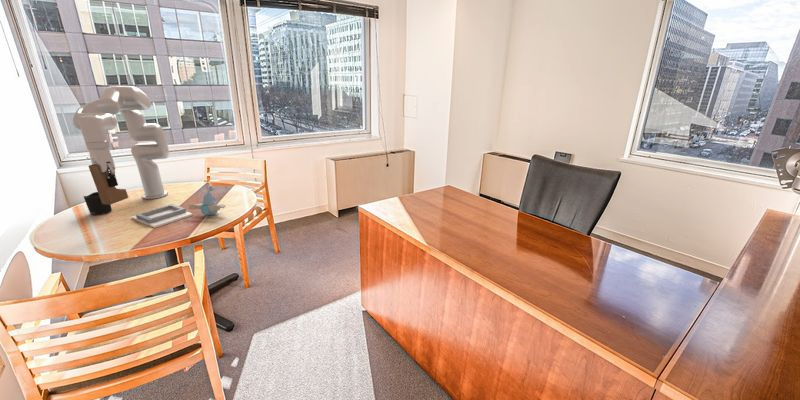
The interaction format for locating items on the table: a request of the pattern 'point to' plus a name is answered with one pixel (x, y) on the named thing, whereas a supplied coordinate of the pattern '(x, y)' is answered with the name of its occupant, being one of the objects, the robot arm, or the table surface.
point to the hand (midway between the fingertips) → (110, 184)
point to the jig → (162, 215)
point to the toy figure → (208, 203)
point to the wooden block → (106, 187)
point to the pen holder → (96, 204)
